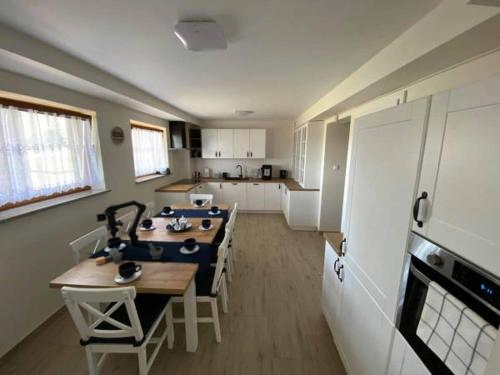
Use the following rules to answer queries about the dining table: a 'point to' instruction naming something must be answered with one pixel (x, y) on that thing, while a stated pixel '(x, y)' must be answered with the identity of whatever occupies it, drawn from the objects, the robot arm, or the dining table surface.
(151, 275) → the dining table surface
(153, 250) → the mortar and pestle
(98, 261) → the plug
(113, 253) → the housing
